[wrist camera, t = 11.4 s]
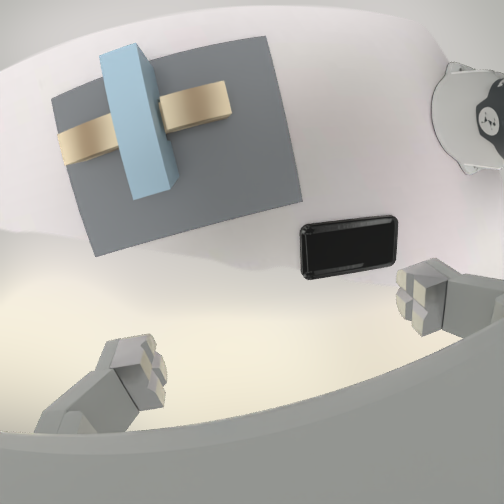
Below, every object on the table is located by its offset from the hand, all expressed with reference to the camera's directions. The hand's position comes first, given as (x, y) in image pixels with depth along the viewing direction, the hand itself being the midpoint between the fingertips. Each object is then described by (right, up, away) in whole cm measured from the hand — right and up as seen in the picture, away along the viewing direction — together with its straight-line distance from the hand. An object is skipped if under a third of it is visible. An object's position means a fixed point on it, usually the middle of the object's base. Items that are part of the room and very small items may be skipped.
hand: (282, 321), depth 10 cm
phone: (+13, +3, +35) cm, 37 cm away
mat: (-10, +15, +27) cm, 32 cm away
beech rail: (-13, +17, +25) cm, 33 cm away
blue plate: (-13, +17, +25) cm, 33 cm away
